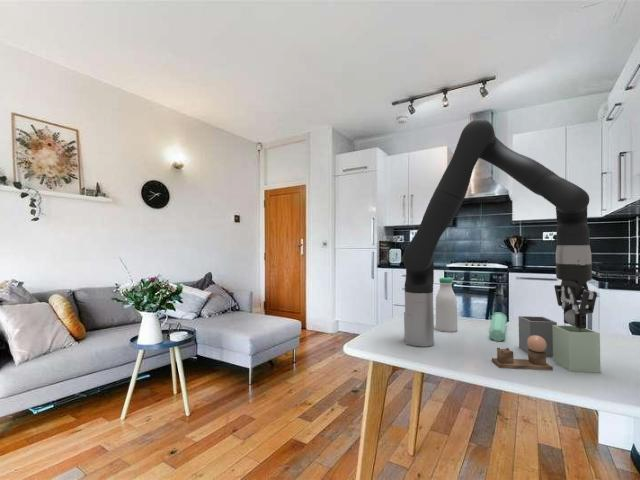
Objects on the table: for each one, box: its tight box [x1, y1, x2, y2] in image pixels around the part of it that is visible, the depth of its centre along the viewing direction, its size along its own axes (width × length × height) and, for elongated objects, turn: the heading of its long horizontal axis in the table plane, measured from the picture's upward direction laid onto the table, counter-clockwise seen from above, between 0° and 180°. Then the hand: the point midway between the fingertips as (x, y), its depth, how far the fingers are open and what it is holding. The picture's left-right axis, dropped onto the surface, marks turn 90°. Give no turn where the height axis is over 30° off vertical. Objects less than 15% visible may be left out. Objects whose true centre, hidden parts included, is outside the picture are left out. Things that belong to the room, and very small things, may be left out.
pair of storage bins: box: [518, 315, 602, 373], centre depth 90 cm, size 11×18×10 cm, turn 171°
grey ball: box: [563, 309, 576, 326], centre depth 85 cm, size 4×4×4 cm
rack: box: [491, 347, 554, 371], centre depth 85 cm, size 13×5×4 cm, turn 81°
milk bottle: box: [435, 277, 458, 333], centre depth 122 cm, size 8×8×20 cm
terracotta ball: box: [527, 335, 547, 352], centre depth 85 cm, size 4×4×4 cm
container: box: [489, 311, 508, 342], centre depth 117 cm, size 6×6×25 cm
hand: (574, 325), depth 84 cm, fingers closed on grey ball, 4 cm apart
